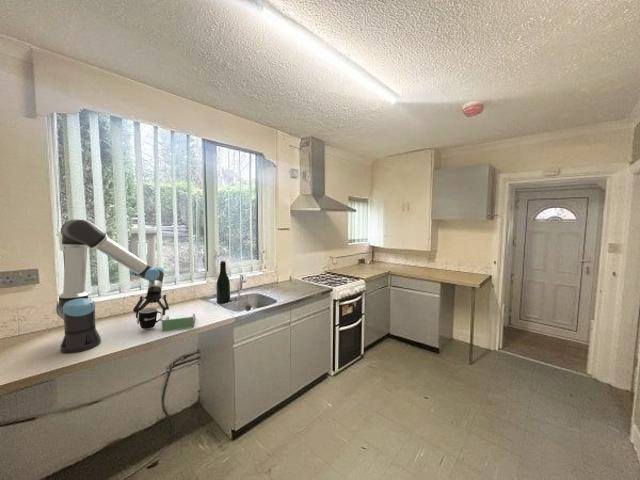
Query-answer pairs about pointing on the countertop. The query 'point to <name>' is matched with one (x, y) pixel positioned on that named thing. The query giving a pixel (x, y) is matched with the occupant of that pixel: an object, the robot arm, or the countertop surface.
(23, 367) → the countertop surface
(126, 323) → the countertop surface
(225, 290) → the beer bottle
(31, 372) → the countertop surface
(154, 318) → the mug
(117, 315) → the countertop surface
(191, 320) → the block
